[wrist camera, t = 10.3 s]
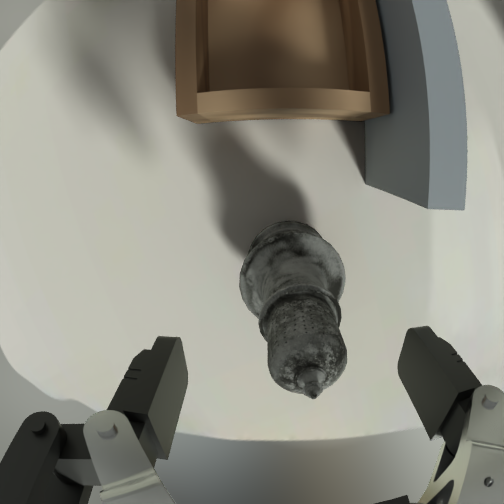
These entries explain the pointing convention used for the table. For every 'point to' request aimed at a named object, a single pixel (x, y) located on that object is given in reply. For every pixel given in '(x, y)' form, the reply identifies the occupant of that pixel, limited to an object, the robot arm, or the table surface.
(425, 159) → the backstop board
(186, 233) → the table surface
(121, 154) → the table surface
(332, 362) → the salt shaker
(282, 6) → the socket block
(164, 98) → the table surface
